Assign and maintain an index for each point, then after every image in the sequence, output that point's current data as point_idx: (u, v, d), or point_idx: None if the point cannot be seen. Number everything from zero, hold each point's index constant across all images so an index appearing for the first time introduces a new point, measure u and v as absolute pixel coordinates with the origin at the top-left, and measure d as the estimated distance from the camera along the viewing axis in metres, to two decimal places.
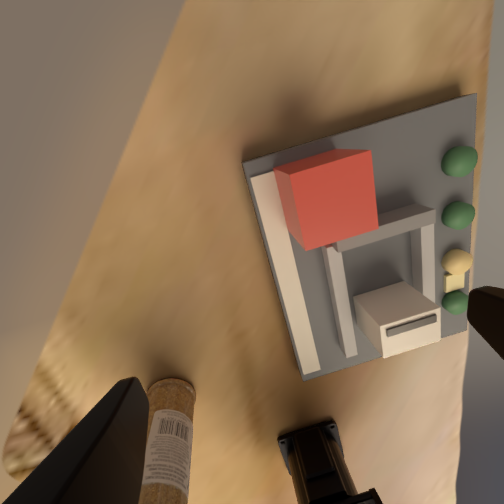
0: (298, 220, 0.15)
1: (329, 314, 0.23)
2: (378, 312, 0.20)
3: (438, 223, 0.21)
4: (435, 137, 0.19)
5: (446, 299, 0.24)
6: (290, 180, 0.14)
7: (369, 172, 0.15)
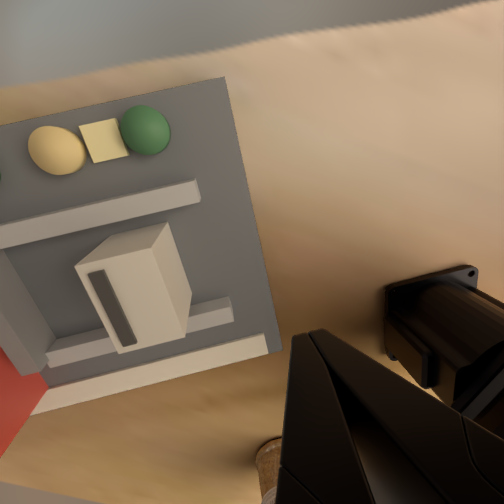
0: None
1: None
2: None
3: None
4: None
5: None
6: None
7: None
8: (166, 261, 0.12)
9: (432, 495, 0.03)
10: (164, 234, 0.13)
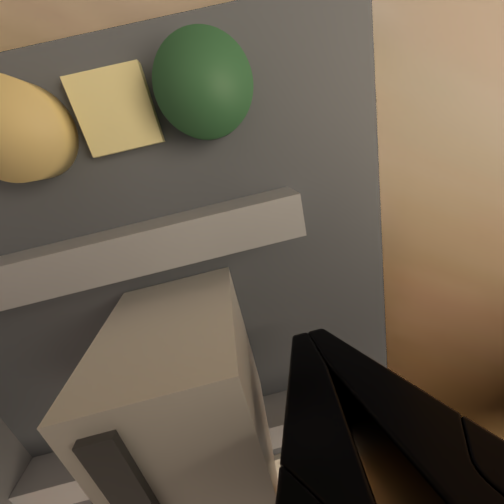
0: None
1: None
2: None
3: None
4: None
5: None
6: None
7: None
8: (246, 368, 0.06)
9: (432, 495, 0.03)
10: (233, 301, 0.07)
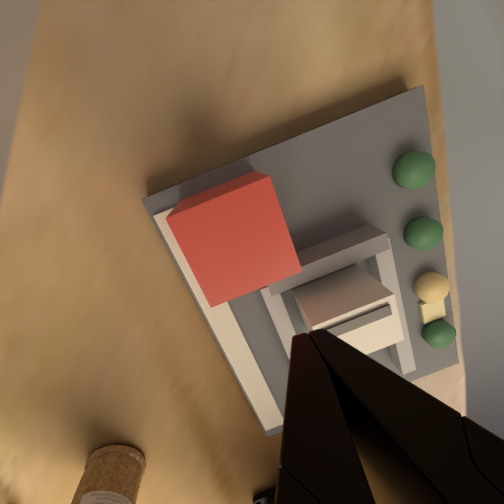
0: None
1: (284, 360, 0.19)
2: (315, 307, 0.15)
3: (401, 244, 0.17)
4: (378, 144, 0.15)
5: (426, 331, 0.20)
6: (168, 224, 0.11)
7: (274, 204, 0.11)
8: None
9: (432, 495, 0.03)
10: None
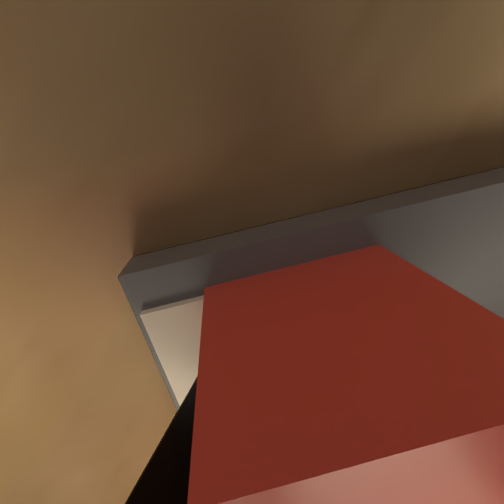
0: None
1: None
2: None
3: None
4: None
5: None
6: None
7: None
8: None
9: None
10: None
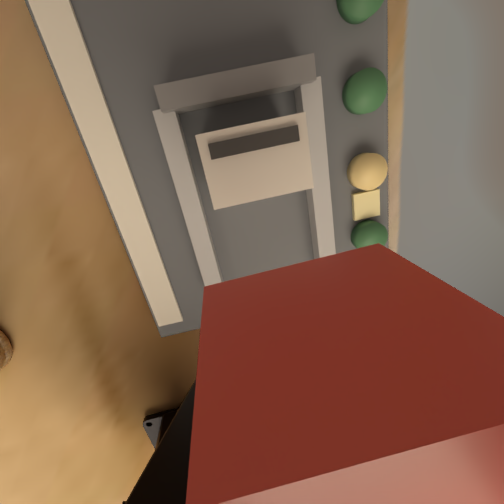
0: None
1: (187, 237, 0.16)
2: None
3: (339, 106, 0.15)
4: None
5: (355, 231, 0.17)
6: None
7: None
8: None
9: None
10: None
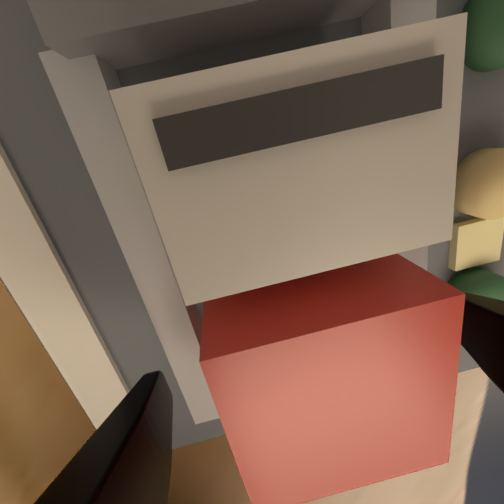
0: None
1: None
2: None
3: None
4: None
5: None
6: None
7: (449, 349, 0.05)
8: None
9: None
10: None
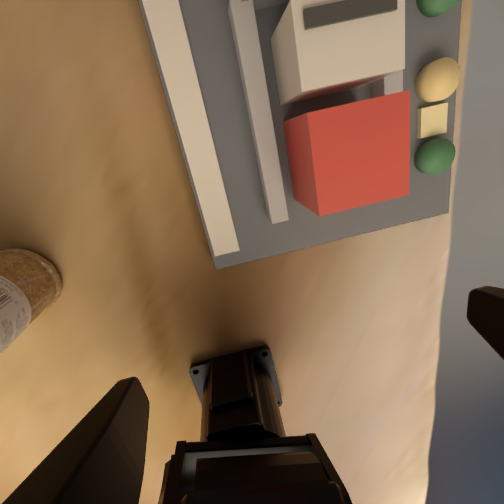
0: (313, 176, 0.12)
1: (249, 154, 0.16)
2: None
3: (411, 7, 0.14)
4: None
5: (420, 149, 0.16)
6: (307, 120, 0.11)
7: (405, 119, 0.12)
8: (362, 81, 0.13)
9: None
10: (367, 83, 0.14)
